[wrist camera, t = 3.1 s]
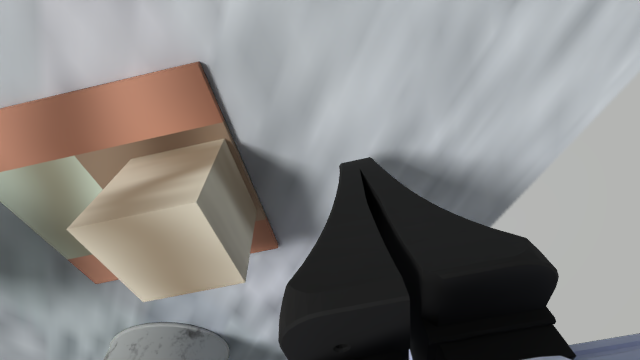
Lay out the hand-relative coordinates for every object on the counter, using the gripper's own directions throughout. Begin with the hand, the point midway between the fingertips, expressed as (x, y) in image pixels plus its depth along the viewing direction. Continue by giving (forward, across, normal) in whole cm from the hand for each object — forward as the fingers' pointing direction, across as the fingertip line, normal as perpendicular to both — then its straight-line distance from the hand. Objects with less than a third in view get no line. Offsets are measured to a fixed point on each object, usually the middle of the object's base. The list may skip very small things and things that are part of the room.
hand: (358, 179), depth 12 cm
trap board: (+2, +11, 0) cm, 12 cm away
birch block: (+2, +8, 0) cm, 8 cm away
